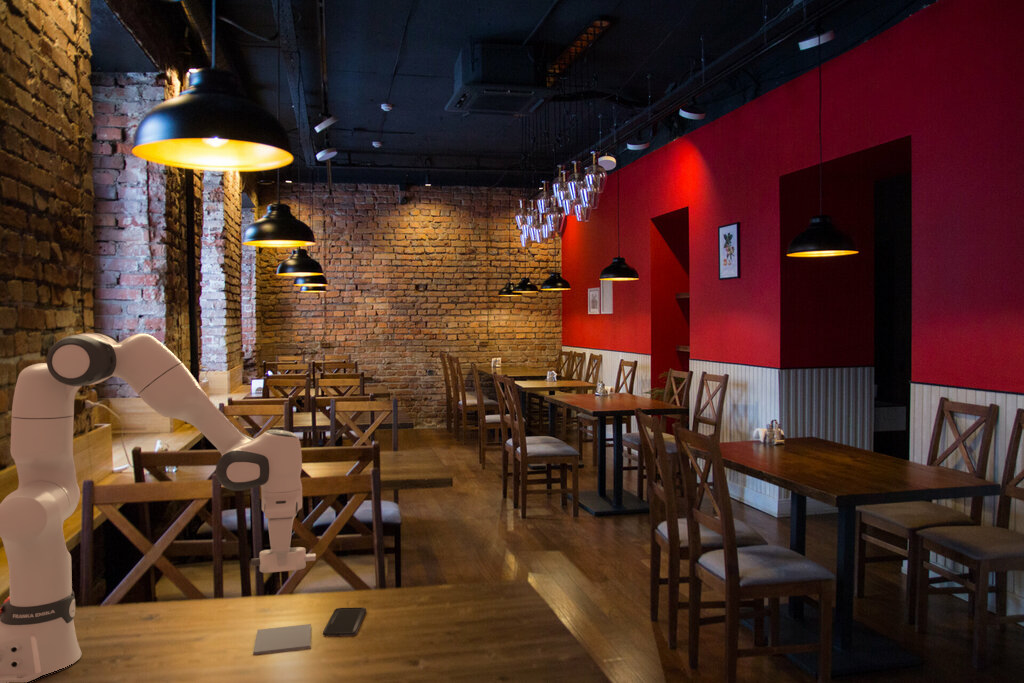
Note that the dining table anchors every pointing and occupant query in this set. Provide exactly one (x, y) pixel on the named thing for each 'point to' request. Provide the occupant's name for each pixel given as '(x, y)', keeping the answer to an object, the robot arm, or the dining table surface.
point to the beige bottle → (293, 560)
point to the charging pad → (282, 639)
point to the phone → (344, 622)
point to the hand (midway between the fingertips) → (282, 561)
